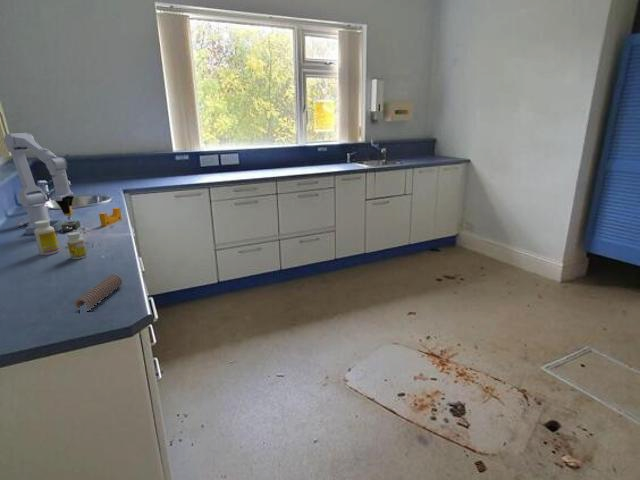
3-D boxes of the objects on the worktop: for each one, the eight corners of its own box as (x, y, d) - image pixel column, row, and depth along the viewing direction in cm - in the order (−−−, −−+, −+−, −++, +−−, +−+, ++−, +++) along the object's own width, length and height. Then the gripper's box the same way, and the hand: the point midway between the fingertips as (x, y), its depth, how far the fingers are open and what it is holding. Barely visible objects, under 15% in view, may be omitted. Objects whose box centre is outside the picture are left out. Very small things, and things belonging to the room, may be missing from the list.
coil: (107, 273, 122) (69, 300, 105) (121, 272, 122) (85, 299, 105) (111, 286, 124) (75, 315, 107) (125, 285, 123) (90, 314, 106)
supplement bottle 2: (89, 256, 149) (84, 232, 146) (75, 260, 145) (69, 236, 142) (82, 253, 152) (77, 230, 149) (68, 257, 148) (62, 234, 145)
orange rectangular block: (67, 218, 185) (64, 205, 183) (74, 218, 186) (71, 205, 184) (65, 220, 183) (62, 207, 181) (72, 219, 183) (69, 206, 181)
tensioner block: (66, 226, 188) (65, 221, 187) (80, 225, 189) (79, 220, 188) (58, 233, 178) (57, 227, 177) (73, 232, 179) (72, 226, 179)
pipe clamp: (114, 219, 200) (112, 207, 198) (122, 219, 199) (119, 207, 197) (98, 226, 188) (95, 213, 186) (106, 226, 188) (103, 213, 186)
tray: (36, 227, 187) (35, 221, 186) (63, 225, 190) (61, 219, 189) (26, 234, 177) (24, 228, 176) (54, 232, 179) (53, 226, 178)
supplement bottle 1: (63, 250, 155) (56, 220, 151) (48, 256, 150) (39, 224, 145) (51, 249, 158) (44, 218, 153) (35, 254, 152) (27, 223, 148)
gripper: (65, 186, 173) (72, 215, 178) (76, 181, 187) (81, 208, 191) (47, 187, 172) (54, 217, 176) (59, 181, 185) (65, 209, 189)
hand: (67, 212), depth 183 cm, fingers closed on orange rectangular block, 3 cm apart
